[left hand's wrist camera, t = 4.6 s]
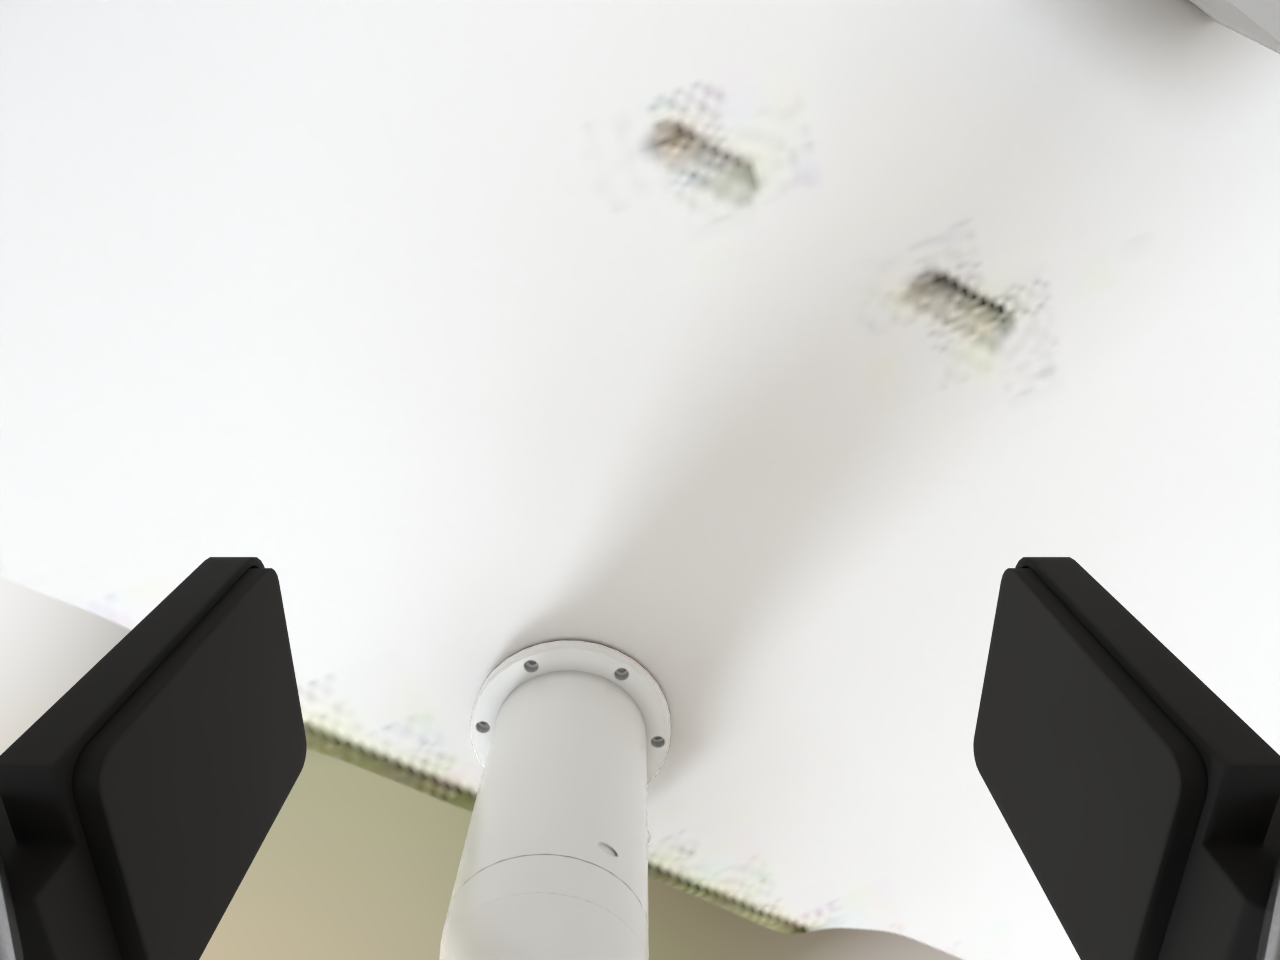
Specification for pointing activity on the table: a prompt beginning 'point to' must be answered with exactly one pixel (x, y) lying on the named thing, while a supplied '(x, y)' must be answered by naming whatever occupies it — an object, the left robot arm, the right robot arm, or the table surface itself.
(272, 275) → the table surface
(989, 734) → the left robot arm
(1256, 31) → the grey pyramid cube
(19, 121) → the table surface
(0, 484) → the table surface
